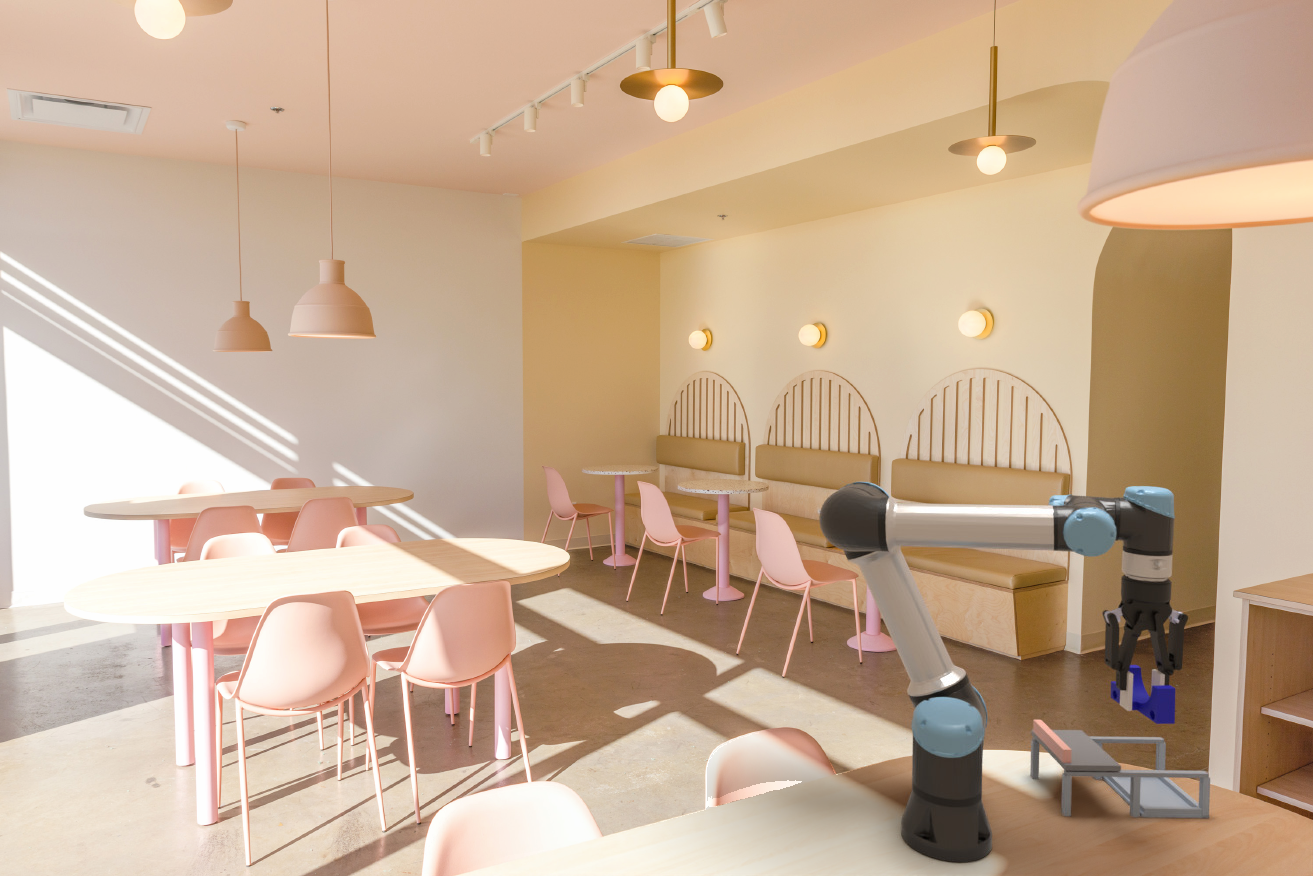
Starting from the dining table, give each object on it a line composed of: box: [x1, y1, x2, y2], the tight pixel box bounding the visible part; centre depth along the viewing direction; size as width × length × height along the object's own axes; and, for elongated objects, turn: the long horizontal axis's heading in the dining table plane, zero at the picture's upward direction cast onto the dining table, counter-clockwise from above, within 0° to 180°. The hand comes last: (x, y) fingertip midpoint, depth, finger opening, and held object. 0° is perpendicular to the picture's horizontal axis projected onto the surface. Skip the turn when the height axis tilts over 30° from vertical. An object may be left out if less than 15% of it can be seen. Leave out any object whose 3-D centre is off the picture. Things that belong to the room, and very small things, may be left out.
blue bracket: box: [1110, 664, 1176, 725], centre depth 148 cm, size 12×4×6 cm, turn 179°
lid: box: [1030, 719, 1122, 771], centre depth 164 cm, size 10×16×4 cm, turn 177°
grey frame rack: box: [1029, 735, 1211, 819], centre depth 164 cm, size 26×16×8 cm, turn 87°
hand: (1141, 707), depth 148 cm, fingers closed on blue bracket, 5 cm apart
